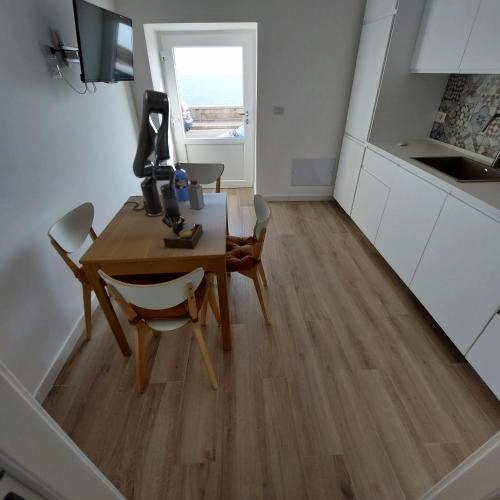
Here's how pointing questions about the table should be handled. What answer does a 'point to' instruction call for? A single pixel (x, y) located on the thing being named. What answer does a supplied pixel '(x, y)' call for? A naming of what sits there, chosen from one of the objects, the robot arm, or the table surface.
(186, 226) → the tin can
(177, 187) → the water bottle
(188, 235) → the tea tin
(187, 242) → the dark brown tray
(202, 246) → the table surface
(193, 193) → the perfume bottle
